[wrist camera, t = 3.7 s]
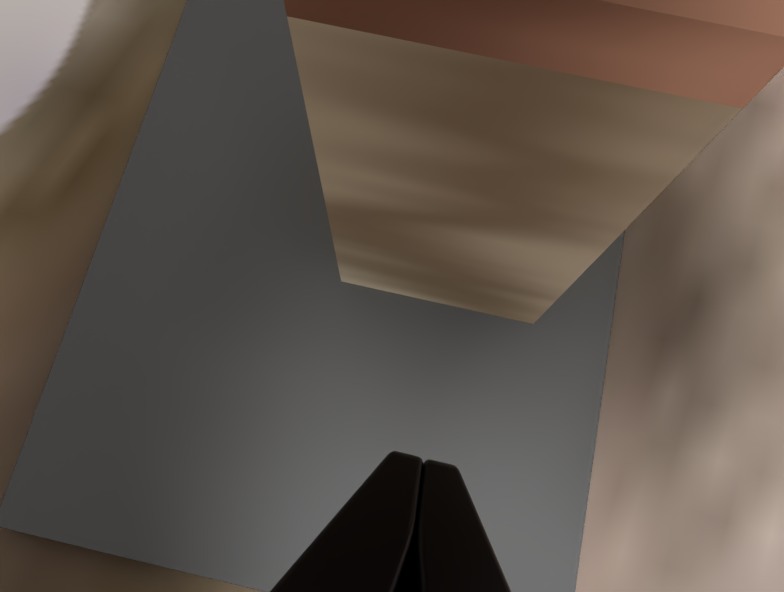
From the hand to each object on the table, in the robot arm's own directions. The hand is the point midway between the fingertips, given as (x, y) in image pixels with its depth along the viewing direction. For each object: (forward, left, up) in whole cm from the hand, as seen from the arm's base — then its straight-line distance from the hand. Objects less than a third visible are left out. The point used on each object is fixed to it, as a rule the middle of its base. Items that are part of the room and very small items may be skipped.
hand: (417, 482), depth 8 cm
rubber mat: (-2, +7, -7) cm, 10 cm away
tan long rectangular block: (0, +6, -6) cm, 9 cm away
